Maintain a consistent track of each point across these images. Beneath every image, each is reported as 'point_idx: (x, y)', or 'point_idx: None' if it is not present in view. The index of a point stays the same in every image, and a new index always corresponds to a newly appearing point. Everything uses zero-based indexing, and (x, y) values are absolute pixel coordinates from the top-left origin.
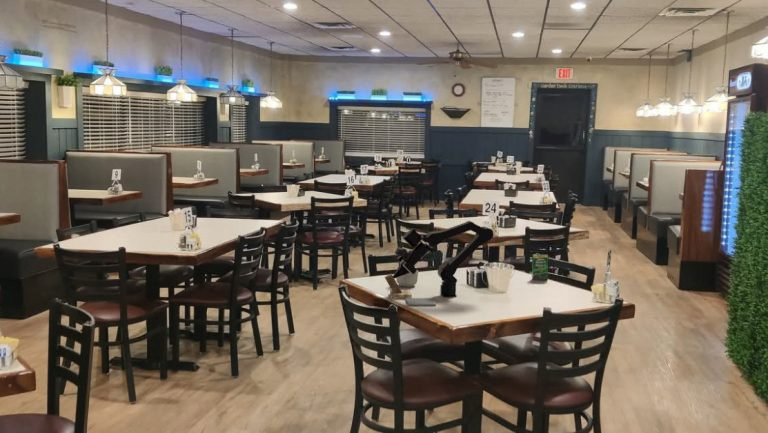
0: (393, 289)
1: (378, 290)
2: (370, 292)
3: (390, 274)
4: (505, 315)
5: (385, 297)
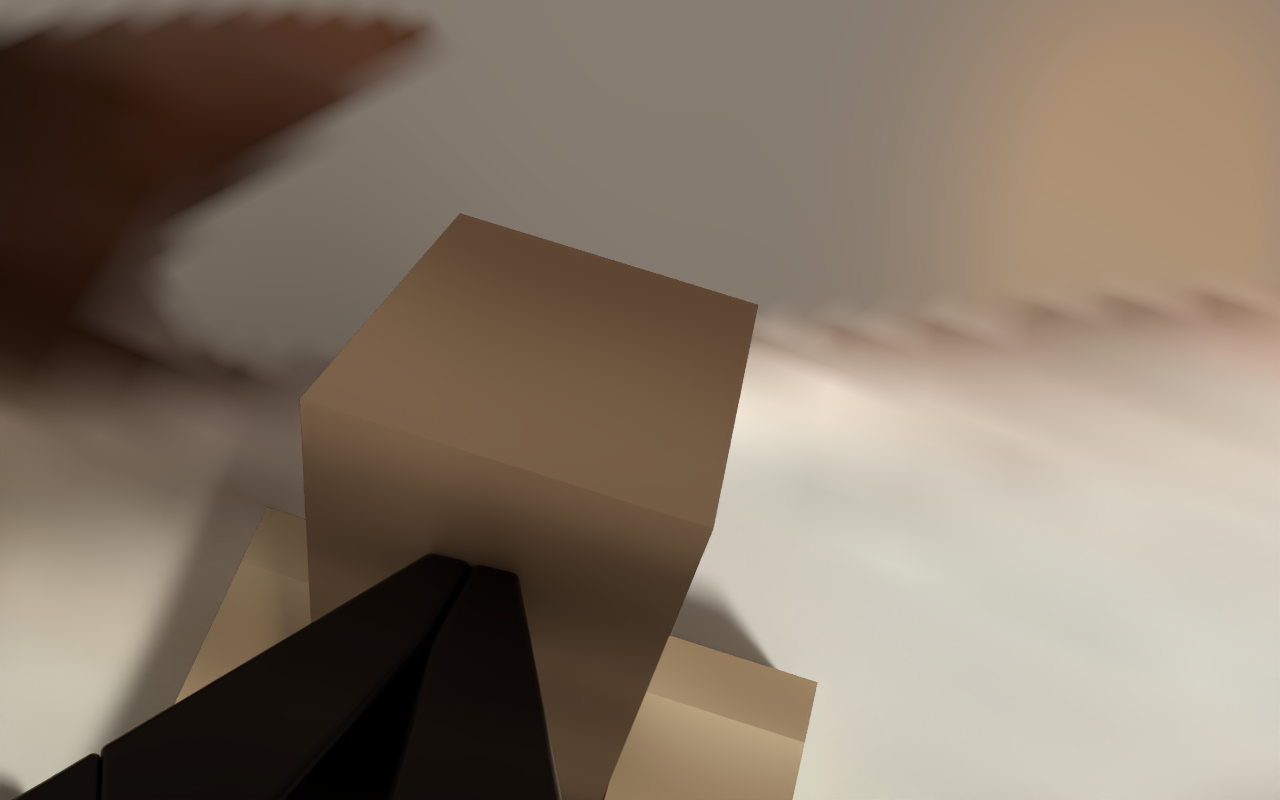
0: None
1: (1187, 563)
2: (1014, 335)
3: (540, 426)
4: None
5: None
